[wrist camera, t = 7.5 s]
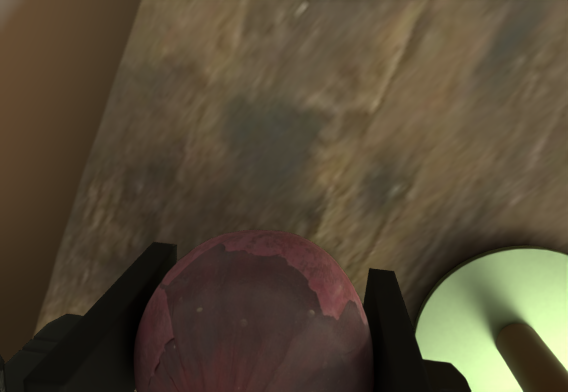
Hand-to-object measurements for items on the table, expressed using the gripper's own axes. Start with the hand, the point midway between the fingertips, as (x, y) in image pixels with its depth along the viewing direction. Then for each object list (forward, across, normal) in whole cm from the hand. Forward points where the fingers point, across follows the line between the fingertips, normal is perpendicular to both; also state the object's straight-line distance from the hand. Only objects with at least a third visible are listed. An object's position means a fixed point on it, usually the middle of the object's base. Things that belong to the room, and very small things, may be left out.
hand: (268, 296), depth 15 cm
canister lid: (+20, +18, -12) cm, 30 cm away
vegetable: (+1, 0, 0) cm, 1 cm away
